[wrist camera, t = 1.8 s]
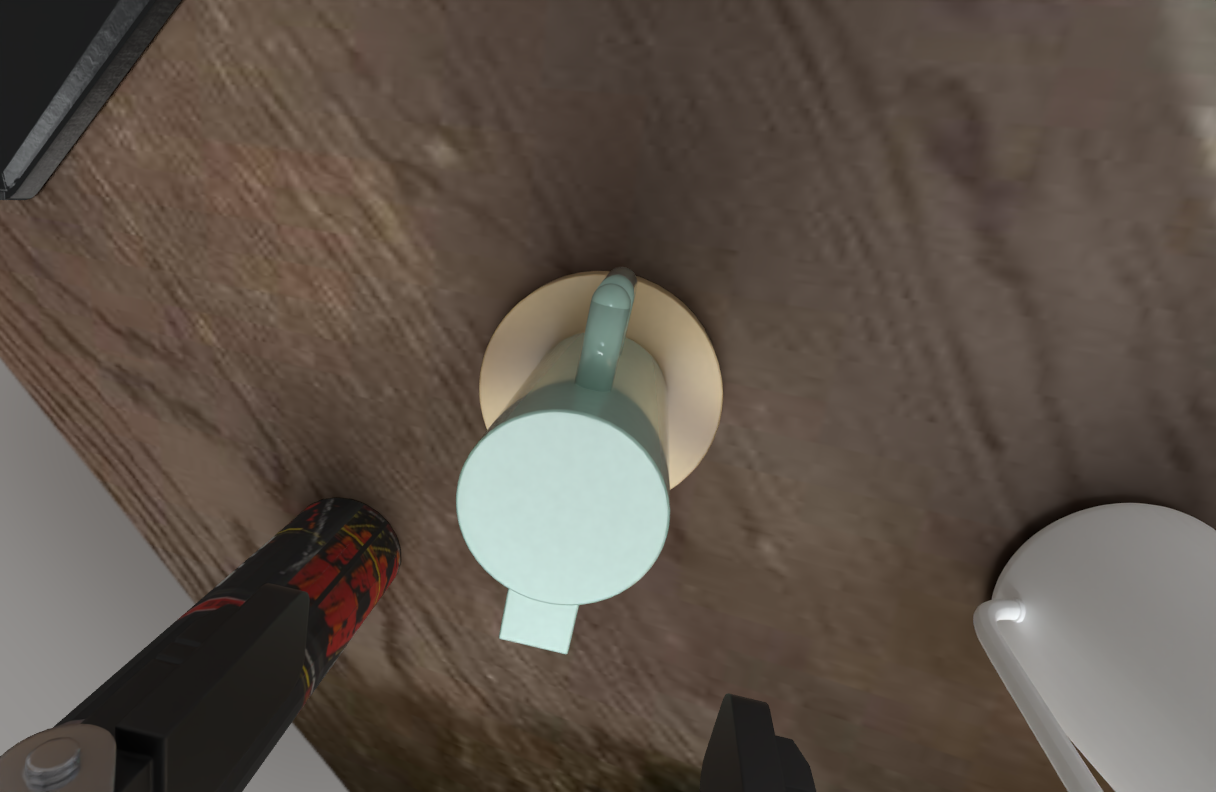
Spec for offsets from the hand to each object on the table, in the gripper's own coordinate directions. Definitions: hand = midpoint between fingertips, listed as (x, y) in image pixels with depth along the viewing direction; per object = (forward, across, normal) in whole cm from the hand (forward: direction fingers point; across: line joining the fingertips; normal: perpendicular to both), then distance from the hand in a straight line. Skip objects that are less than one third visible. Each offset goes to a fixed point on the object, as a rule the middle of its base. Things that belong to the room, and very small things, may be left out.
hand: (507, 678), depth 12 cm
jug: (+18, 0, -1) cm, 18 cm away
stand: (+20, 0, 0) cm, 20 cm away
